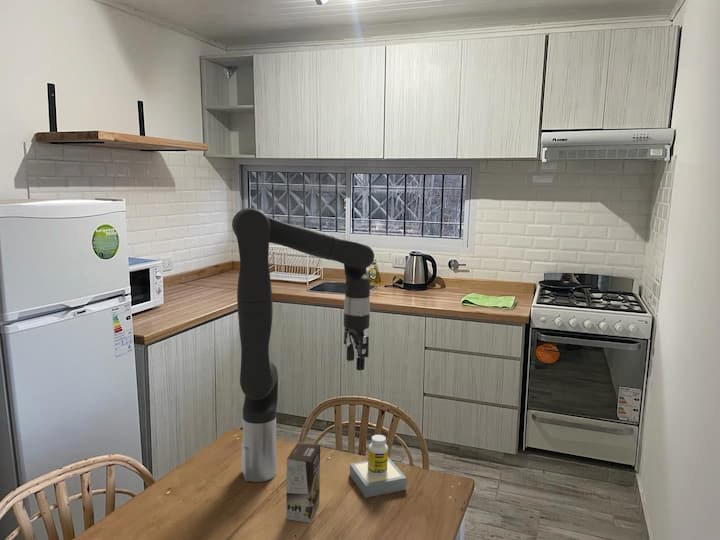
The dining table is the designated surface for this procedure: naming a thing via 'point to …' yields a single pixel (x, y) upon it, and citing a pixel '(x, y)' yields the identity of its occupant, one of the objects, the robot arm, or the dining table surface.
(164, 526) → the dining table surface
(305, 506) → the coffee box
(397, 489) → the block
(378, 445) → the supplement bottle
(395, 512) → the dining table surface
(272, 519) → the dining table surface
